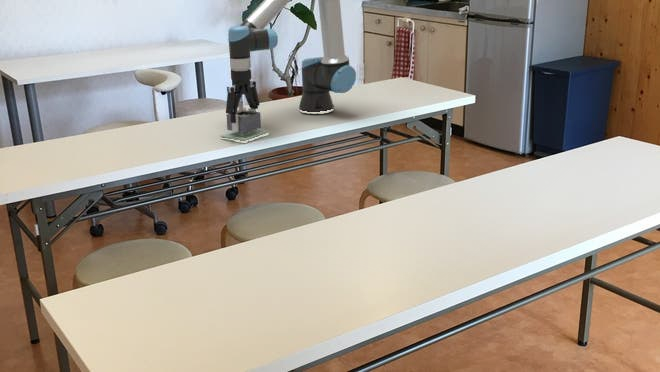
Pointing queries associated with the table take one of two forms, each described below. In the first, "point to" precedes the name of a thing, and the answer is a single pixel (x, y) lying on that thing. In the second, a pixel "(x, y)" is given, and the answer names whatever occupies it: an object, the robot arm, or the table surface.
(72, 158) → the table surface
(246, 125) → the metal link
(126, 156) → the table surface
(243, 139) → the keeper board
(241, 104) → the pipe connector
